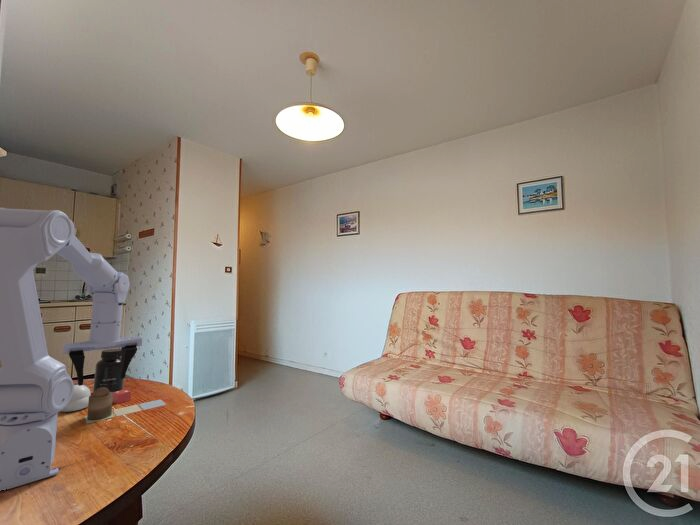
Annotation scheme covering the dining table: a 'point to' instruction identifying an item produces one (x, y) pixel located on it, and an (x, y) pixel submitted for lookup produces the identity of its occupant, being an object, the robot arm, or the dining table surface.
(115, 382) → the supplement bottle
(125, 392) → the red die
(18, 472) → the robot arm
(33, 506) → the dining table surface
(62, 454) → the dining table surface
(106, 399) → the pawn
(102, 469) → the dining table surface
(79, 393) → the dome
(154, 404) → the game board
